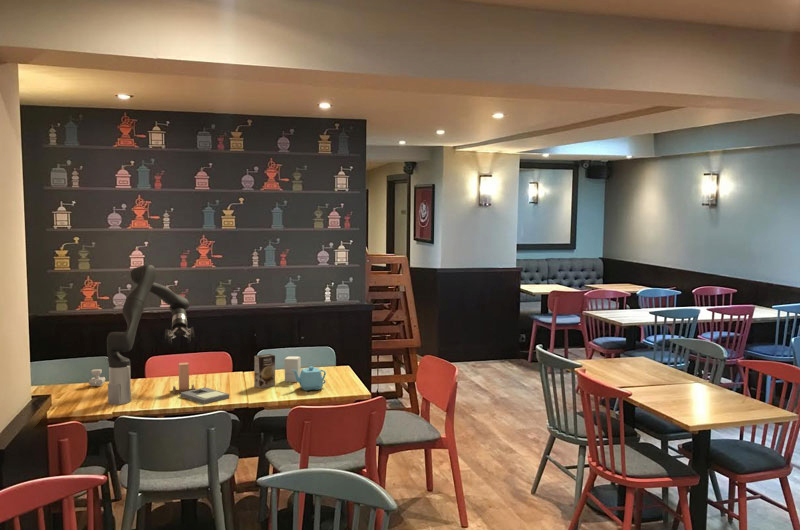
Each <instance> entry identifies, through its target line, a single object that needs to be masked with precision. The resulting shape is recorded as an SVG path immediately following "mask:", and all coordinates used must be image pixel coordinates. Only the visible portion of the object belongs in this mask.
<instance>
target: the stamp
mask: <svg viewBox="0 0 800 530" xmlns="http://www.w3.org/2000/svg"><path fill="white" fill-rule="evenodd" d="M91 374H92V376H94V377H91V379H89V381H88V384H89V386H91V387H92V386H99V387H102V385H104V383H105V381H106V378H105V376H102V377H101V376H100V375H101V374H102V368H101V369H100V368H99V369H98V368H97V369H95V368H94V369H91Z"/></svg>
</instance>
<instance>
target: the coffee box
mask: <svg viewBox="0 0 800 530" xmlns="http://www.w3.org/2000/svg"><path fill="white" fill-rule="evenodd" d="M253 365H254V370H253V371H254V374H253V375H254V376H253V378H254V380H253V381H254V382H253V383H254V384H253V386H254V387H255V388H257V389H263V388H270V387H275V386H276V355H274V354H272V353H271V354H270V353H268V354H267V353H266V354H257V355H254V363H253Z"/></svg>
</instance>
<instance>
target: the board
mask: <svg viewBox="0 0 800 530" xmlns="http://www.w3.org/2000/svg"><path fill="white" fill-rule="evenodd" d="M179 396H180V398H183V399H186V400H189V401H193V402H197V403H200V404H201V405H206V404H211V403H215V402H219V401H223V400H227V399H230V393H227V392H223V391H220V390H216V389H213V388H209V387H201V388H195V390H190V391H186V392H181V393H180V394H179Z"/></svg>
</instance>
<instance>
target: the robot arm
mask: <svg viewBox="0 0 800 530" xmlns="http://www.w3.org/2000/svg"><path fill="white" fill-rule="evenodd" d="M156 278H157V270H156V268H155V266H154V265H152V264H145V265H141V266H137V267H134V268H133V269H132V270H131V271H130V279H131V281H132V282H133V283H134V284H135V285H136V287H135V288H134V289H133V290H132V291H131V292H130V293H129V294H128V295H127V296H126V298H125V301H124V303H123V307H122V309H121V310H122V311H121V312H122V315H123V318H124V320H125V321H126V324H127V327H126V328H127V329H126V331H111V332H108V335H107V338H106V348H107V349H106V352H107V362H108V384H107V403H108V405H115V406H117V405H119V406H120V405H124V404H128V403H130V402H131V401H132V393H131V392H132V391H131V390H132V389H131V383H132V382H131V359H129V357H125V356H123V355H122V354H120V353H121V352H123V353H126V352H130V351H131V350H132V349H133V346H134V343H135V339H136V334H137V329H138V326H139V323H140V320H141V317H142V315H143V312H144V308H145V305H146V302H147V299H148V296H149V294H150V293H151V294H153V295H154V296H156V297H158V298H159V299H160V300H161V301H162V302H163V303H165V304H166V305H168V307H169V308H168V309H169V311H170V312H171V314H172V318H171V319H172V321H171V329H168V328H165V330H164V338H165V339H164V340H168V343H169V344H170V345H171V344H172V343H173V341H172V339H175V338H176V337H183V336H184V337H185V338H187V343H190V342H191V340H192V339H191V338H195V330H194V327H193V326H191V327H190V328H189V327H188V320H187V319H188V318H187V311H186V310H189V308H190V302H189V300H188V299H187V298H186V297H184V296H182V295H180V294H177V293H175V292H174V291H173V290H171V288H169V287H167V286H165V285H163V284H160V283H158V282H155V281H156Z"/></svg>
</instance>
